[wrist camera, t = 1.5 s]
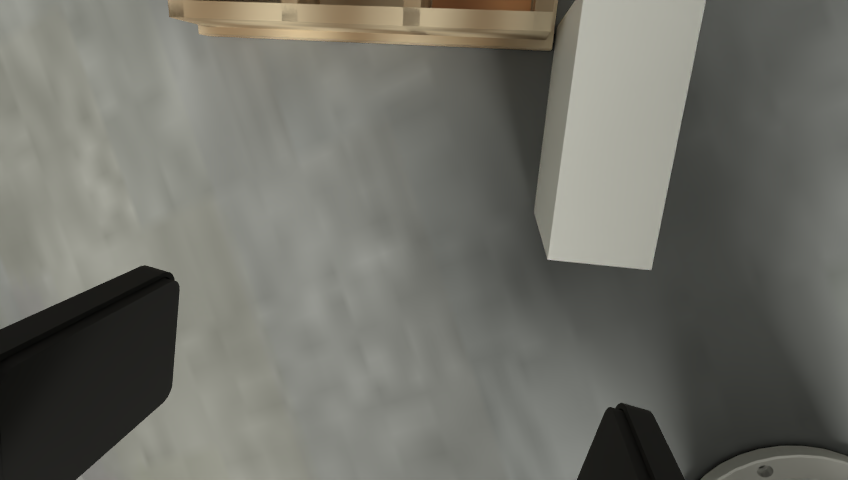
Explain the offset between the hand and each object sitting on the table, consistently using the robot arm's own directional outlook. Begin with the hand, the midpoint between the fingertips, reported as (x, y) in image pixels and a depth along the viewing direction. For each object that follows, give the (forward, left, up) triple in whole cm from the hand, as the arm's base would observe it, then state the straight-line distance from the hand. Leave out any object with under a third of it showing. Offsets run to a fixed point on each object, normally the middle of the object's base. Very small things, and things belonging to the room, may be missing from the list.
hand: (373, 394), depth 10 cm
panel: (-7, -5, -19) cm, 21 cm away
